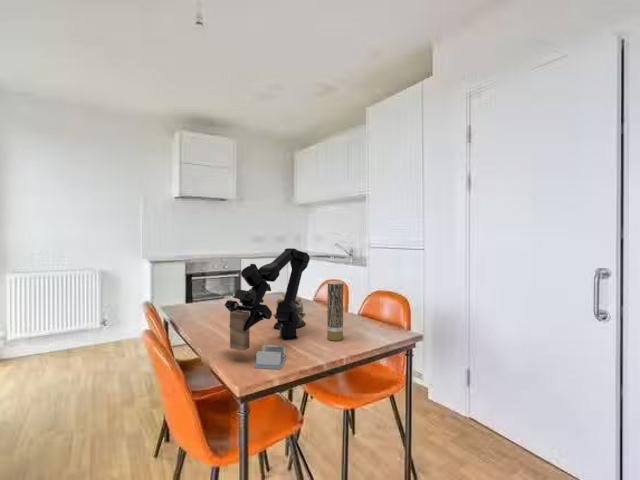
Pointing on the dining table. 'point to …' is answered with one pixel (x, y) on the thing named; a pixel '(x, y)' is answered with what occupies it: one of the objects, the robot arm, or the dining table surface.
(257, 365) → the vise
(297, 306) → the owl figurine
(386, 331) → the dining table surface
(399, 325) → the dining table surface
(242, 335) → the walnut slab
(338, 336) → the paper tube
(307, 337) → the dining table surface
